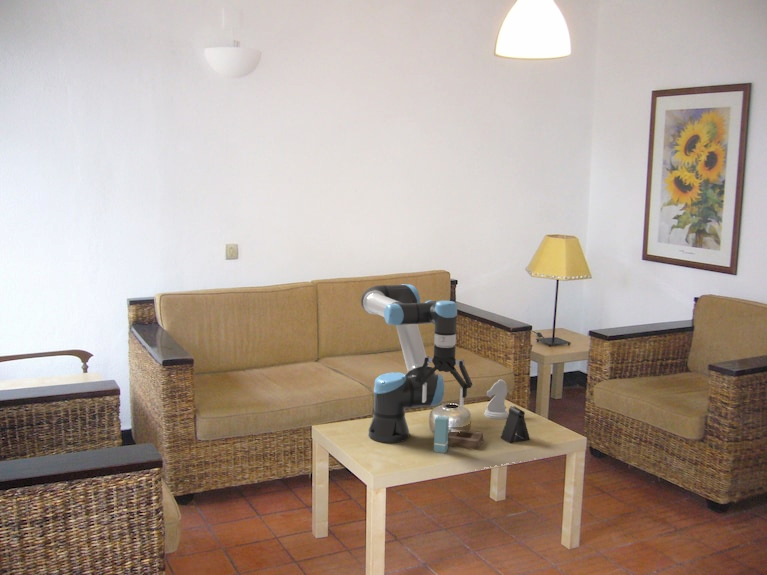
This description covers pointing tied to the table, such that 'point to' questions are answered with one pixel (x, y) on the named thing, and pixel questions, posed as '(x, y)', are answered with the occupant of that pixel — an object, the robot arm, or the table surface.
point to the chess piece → (497, 401)
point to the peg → (441, 434)
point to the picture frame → (515, 427)
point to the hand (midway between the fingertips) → (442, 403)
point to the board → (465, 439)
